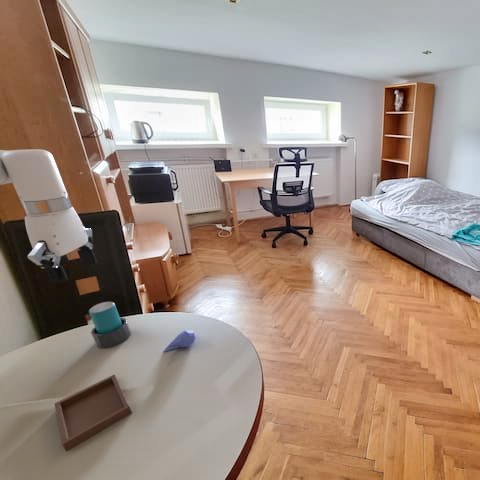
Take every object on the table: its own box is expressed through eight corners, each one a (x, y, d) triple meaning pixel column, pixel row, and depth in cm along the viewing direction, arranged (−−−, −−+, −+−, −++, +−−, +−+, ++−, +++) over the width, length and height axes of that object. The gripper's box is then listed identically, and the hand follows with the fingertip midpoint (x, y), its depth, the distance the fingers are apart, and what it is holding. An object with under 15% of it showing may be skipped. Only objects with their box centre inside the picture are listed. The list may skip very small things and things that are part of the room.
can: (97, 346, 82) (83, 313, 77) (109, 333, 87) (97, 302, 83) (119, 344, 82) (106, 311, 78) (130, 331, 88) (118, 300, 83)
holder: (90, 351, 80) (83, 337, 79) (108, 332, 88) (103, 319, 86) (121, 347, 82) (116, 333, 80) (137, 329, 89) (132, 316, 87)
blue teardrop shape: (204, 337, 85) (191, 328, 87) (191, 331, 80) (178, 322, 83) (184, 363, 81) (171, 353, 84) (169, 358, 76) (156, 348, 79)
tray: (57, 409, 64) (54, 403, 63) (117, 380, 71) (114, 374, 70) (66, 451, 55) (62, 444, 55) (132, 412, 63) (129, 406, 62)
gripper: (60, 198, 73) (84, 258, 79) (-10, 217, 57) (27, 291, 63) (93, 196, 74) (114, 256, 80) (33, 215, 58) (65, 288, 64)
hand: (75, 272), depth 72 cm, fingers open, 9 cm apart
